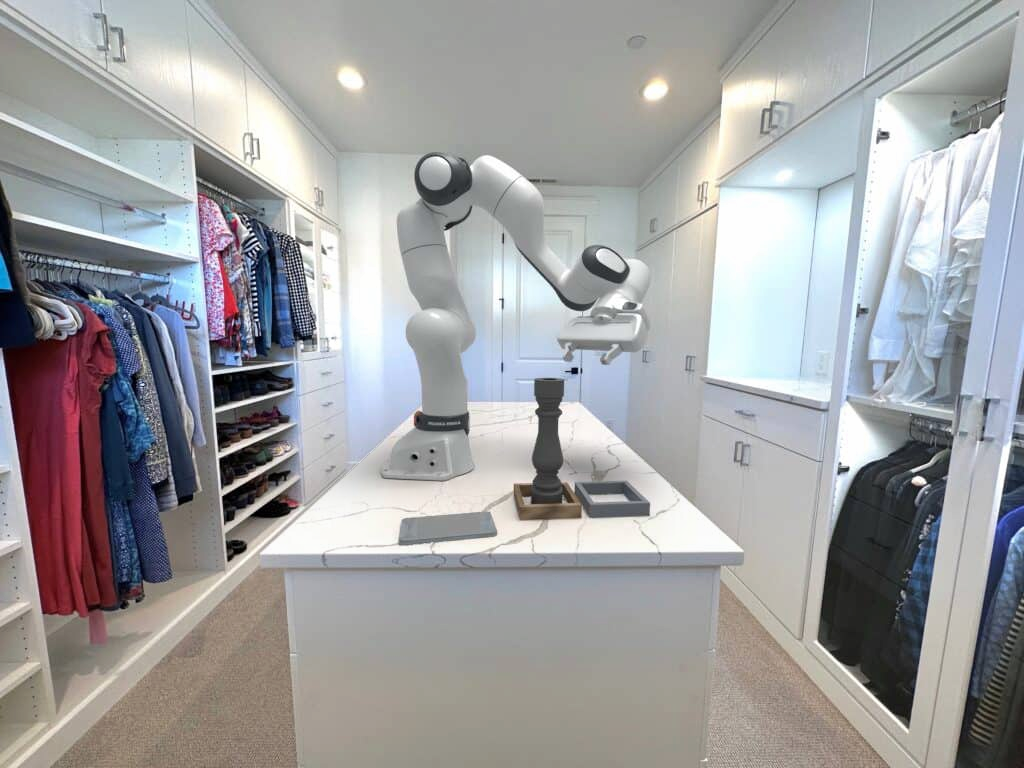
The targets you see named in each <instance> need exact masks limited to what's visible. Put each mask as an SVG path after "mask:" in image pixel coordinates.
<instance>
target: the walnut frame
mask: <svg viewBox="0 0 1024 768" xmlns="http://www.w3.org/2000/svg"><path fill="white" fill-rule="evenodd" d="M561 483H562V485H561V486H560V487H561V488H562V490H563V498H564V499H565V501H566V503H563V502H562V503H559V504H531V503H530V504H525V501H524V498H525V497H528V498H529V497H530V498H531V488H532V487H533V482H525V483H524V482H523V483H522V482H519V483H518V482H517V483H516V482H515V483H513V499H514V503H515V507H516V511H517V514H518V519H519V521H537V520H538V521H539V520H567V519H582V517H583V516H582V511H583V506H582V504H581V503H580V501H579V500H578V498H577V497H576V495H575V493H574V490H573V488H572V487H571V486H570V484H569V482H567V481H564V482H563V481H561Z"/></svg>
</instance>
